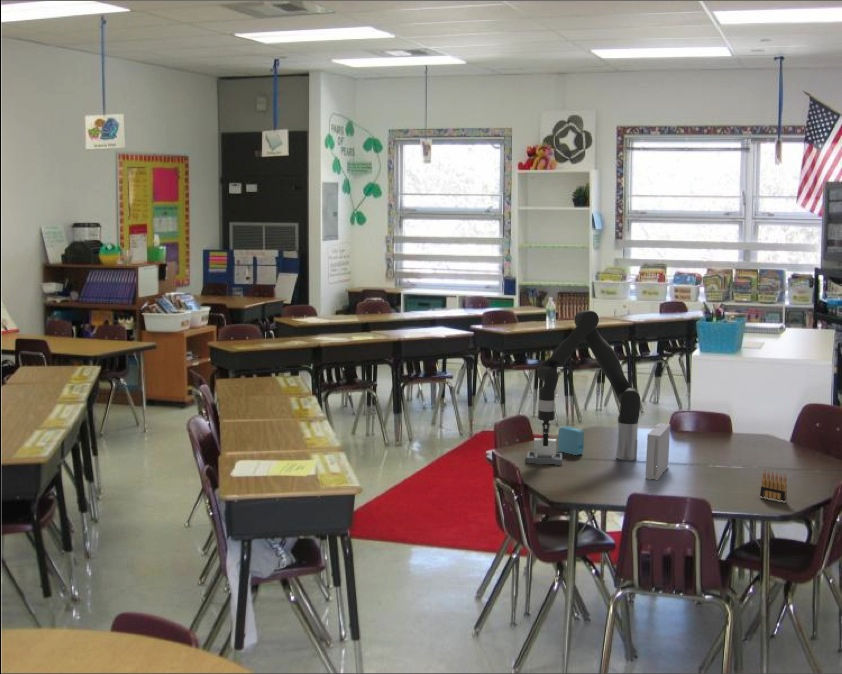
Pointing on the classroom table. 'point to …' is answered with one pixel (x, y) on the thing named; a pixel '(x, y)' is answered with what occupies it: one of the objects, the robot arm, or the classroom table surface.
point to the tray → (544, 459)
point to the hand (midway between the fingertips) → (545, 443)
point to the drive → (545, 448)
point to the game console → (657, 451)
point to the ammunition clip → (773, 486)
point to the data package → (571, 440)
